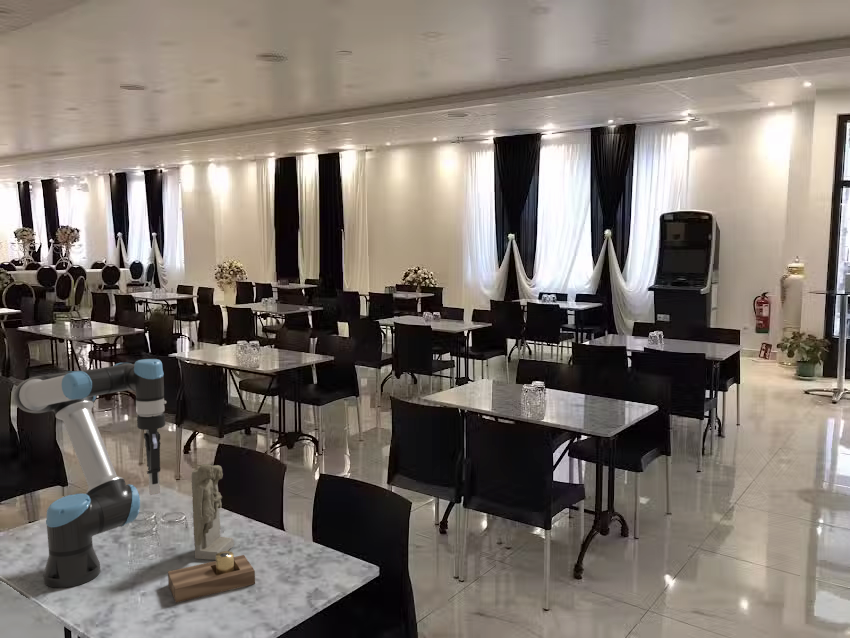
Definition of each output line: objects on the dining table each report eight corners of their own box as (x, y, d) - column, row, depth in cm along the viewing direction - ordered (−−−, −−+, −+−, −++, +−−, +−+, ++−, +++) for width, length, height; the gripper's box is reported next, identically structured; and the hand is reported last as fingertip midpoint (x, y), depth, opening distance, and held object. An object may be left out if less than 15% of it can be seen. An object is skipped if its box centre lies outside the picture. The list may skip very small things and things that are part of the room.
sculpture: (213, 564, 216) (209, 469, 213) (189, 562, 217) (185, 468, 214) (235, 544, 230) (232, 455, 227) (213, 542, 232) (209, 454, 229)
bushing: (215, 579, 206) (214, 553, 205) (232, 575, 208) (231, 549, 207) (218, 586, 202) (217, 560, 201) (236, 582, 204) (235, 556, 203)
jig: (168, 584, 203) (167, 571, 203) (244, 567, 214) (243, 554, 213) (175, 602, 193) (175, 589, 192) (255, 583, 203) (254, 570, 203)
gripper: (168, 416, 196) (172, 498, 199) (161, 407, 208) (164, 484, 210) (139, 420, 193) (144, 503, 195) (134, 410, 204) (138, 489, 207)
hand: (154, 493), depth 203 cm, fingers closed
